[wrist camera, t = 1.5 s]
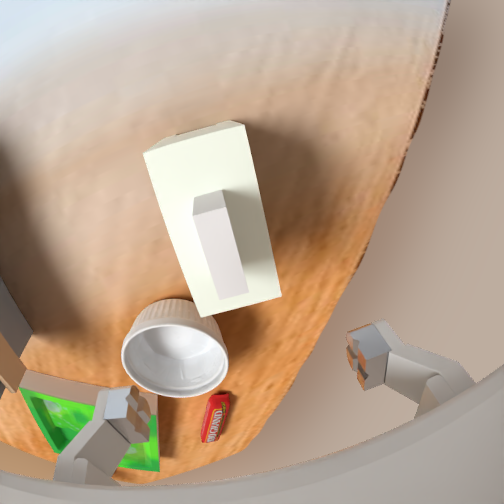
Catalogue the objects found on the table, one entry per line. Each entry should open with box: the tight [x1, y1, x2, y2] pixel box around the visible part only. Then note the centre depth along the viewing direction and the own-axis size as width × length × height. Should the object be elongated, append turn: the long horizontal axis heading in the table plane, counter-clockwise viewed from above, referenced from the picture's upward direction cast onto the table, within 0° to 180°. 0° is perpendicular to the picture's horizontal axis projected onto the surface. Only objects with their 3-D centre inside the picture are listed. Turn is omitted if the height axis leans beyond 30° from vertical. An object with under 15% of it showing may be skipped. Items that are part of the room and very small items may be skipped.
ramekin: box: [121, 299, 229, 398], centre depth 37 cm, size 13×13×7 cm
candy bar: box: [201, 393, 230, 443], centre depth 49 cm, size 16×4×3 cm, turn 167°
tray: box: [19, 369, 160, 472], centre depth 46 cm, size 25×25×5 cm
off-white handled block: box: [143, 120, 281, 317], centre depth 26 cm, size 14×7×16 cm, turn 12°
